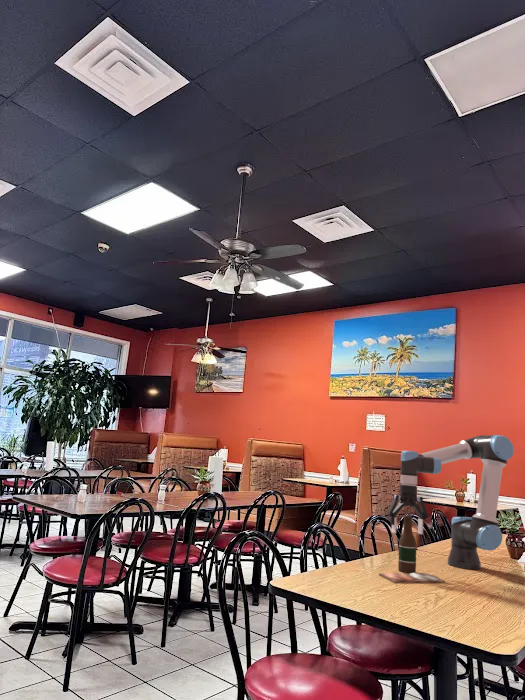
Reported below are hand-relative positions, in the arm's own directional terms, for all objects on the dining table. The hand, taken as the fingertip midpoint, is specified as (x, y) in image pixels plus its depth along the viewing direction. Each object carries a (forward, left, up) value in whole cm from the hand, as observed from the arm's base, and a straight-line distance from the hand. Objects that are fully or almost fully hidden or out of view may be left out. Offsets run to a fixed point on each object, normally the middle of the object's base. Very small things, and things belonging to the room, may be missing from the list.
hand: (407, 533), depth 229 cm
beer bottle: (0, 0, -17) cm, 17 cm away
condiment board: (+6, +13, -16) cm, 22 cm away
